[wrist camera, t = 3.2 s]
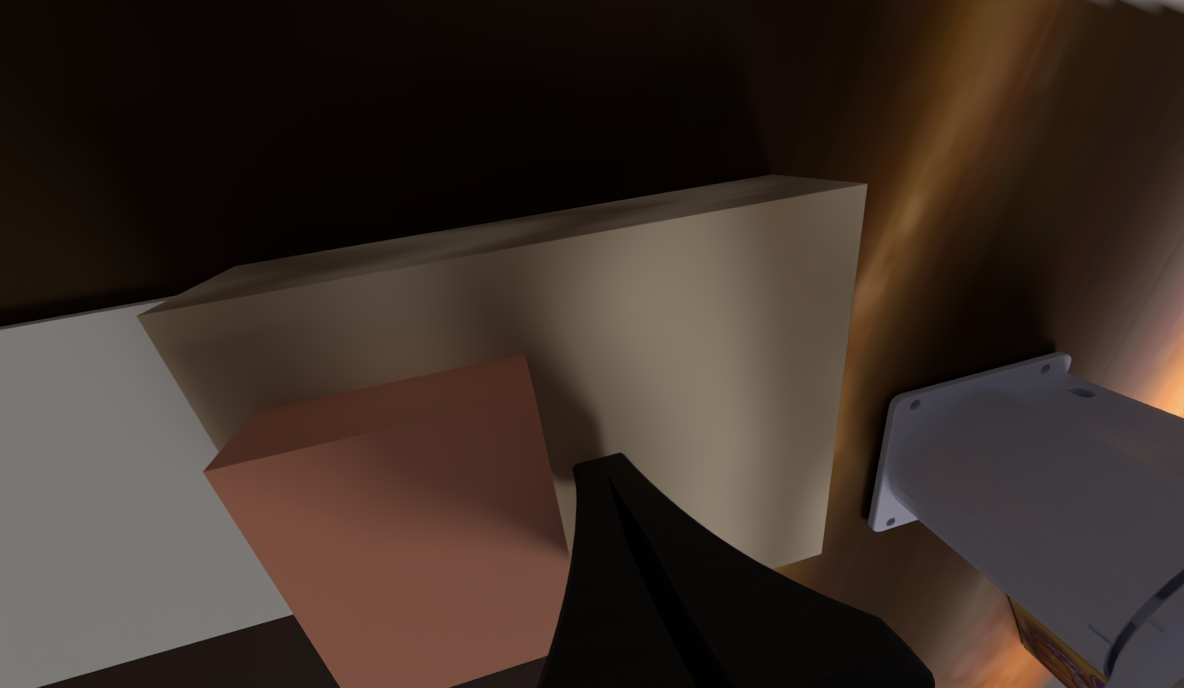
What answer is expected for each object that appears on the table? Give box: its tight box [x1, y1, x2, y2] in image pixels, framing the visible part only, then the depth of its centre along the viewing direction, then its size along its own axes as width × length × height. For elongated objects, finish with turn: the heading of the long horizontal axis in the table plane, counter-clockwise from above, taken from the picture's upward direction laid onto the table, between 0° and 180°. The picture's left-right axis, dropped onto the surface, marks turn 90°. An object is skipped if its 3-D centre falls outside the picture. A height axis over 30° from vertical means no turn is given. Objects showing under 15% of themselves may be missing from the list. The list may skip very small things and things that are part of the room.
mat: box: [0, 296, 293, 688], centre depth 14 cm, size 14×12×1 cm
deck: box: [137, 175, 867, 569], centre depth 14 cm, size 16×13×4 cm
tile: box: [203, 353, 571, 688], centre depth 11 cm, size 6×8×2 cm
